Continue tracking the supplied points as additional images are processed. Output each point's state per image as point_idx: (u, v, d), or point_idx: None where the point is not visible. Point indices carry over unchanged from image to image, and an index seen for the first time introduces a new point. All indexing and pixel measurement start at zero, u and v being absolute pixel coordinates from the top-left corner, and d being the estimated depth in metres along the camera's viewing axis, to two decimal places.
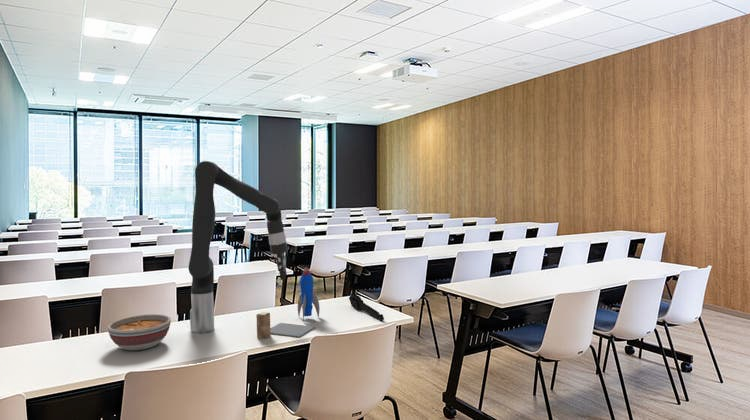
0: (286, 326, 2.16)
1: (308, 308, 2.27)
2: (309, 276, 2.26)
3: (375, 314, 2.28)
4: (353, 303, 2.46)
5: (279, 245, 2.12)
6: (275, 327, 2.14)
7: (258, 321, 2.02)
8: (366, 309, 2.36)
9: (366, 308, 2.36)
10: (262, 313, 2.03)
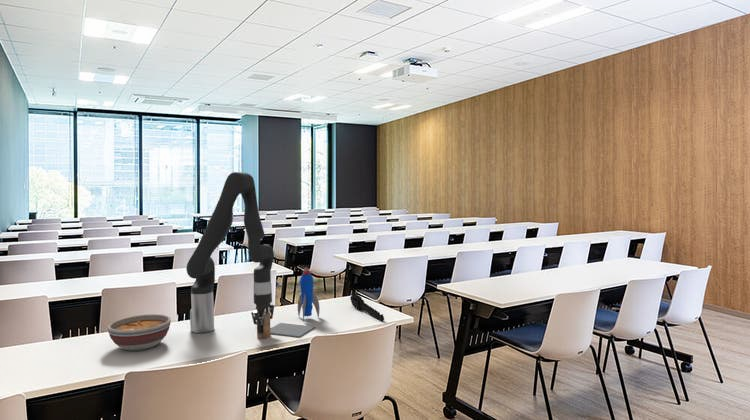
0: (286, 326, 2.16)
1: (308, 308, 2.27)
2: (309, 276, 2.26)
3: (375, 314, 2.28)
4: (354, 303, 2.46)
5: (259, 296, 1.99)
6: (275, 327, 2.14)
7: None
8: (366, 309, 2.36)
9: (366, 308, 2.36)
10: None
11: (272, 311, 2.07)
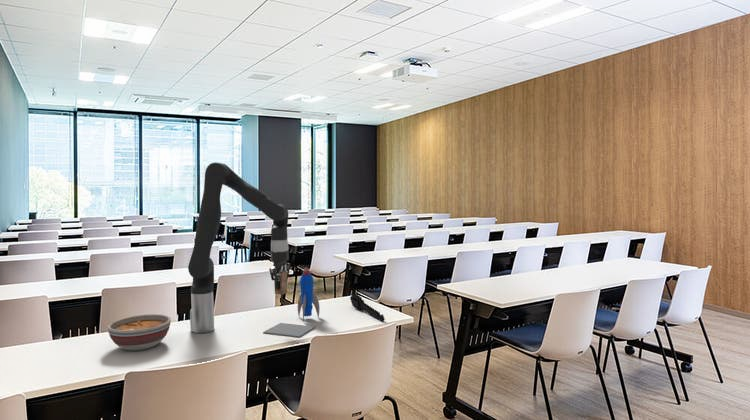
0: (286, 326, 2.16)
1: (308, 308, 2.27)
2: (309, 276, 2.26)
3: (376, 314, 2.27)
4: (354, 303, 2.45)
5: (276, 253, 2.07)
6: (275, 327, 2.14)
7: None
8: (366, 310, 2.36)
9: (366, 308, 2.36)
10: None
11: (288, 269, 2.16)
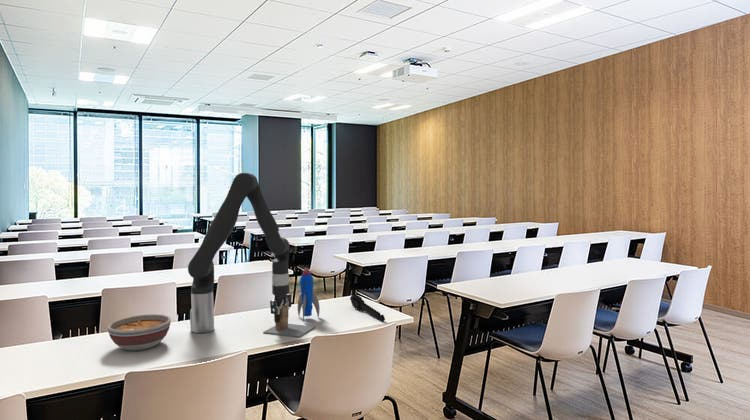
0: None
1: (308, 308, 2.27)
2: (309, 276, 2.26)
3: (376, 314, 2.27)
4: (354, 303, 2.45)
5: (277, 287, 2.08)
6: None
7: None
8: (367, 310, 2.35)
9: (367, 308, 2.35)
10: None
11: (290, 300, 2.17)
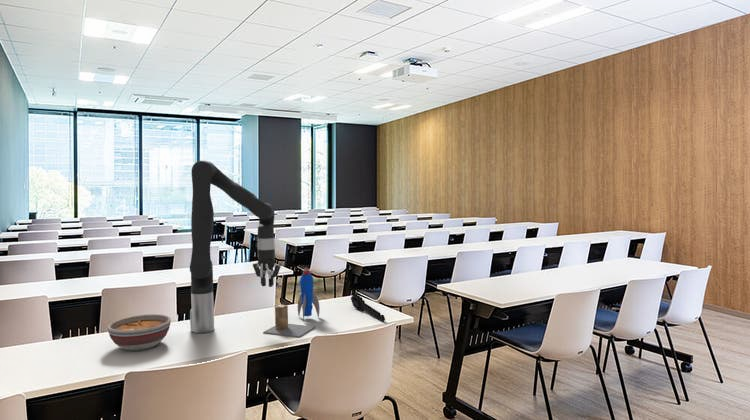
0: None
1: (308, 308, 2.27)
2: (309, 276, 2.26)
3: (376, 314, 2.27)
4: (355, 303, 2.45)
5: None
6: None
7: (276, 313, 2.11)
8: (367, 310, 2.35)
9: (367, 309, 2.35)
10: (280, 305, 2.12)
11: (274, 271, 2.11)
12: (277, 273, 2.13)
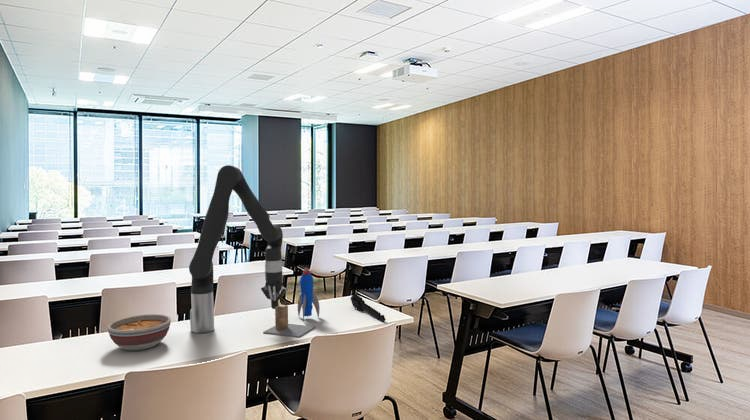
0: None
1: (308, 308, 2.27)
2: (309, 276, 2.26)
3: (376, 315, 2.27)
4: (354, 303, 2.45)
5: None
6: (275, 327, 2.14)
7: (277, 313, 2.11)
8: (367, 310, 2.35)
9: (367, 309, 2.35)
10: (280, 305, 2.12)
11: (280, 294, 2.11)
12: (282, 296, 2.13)
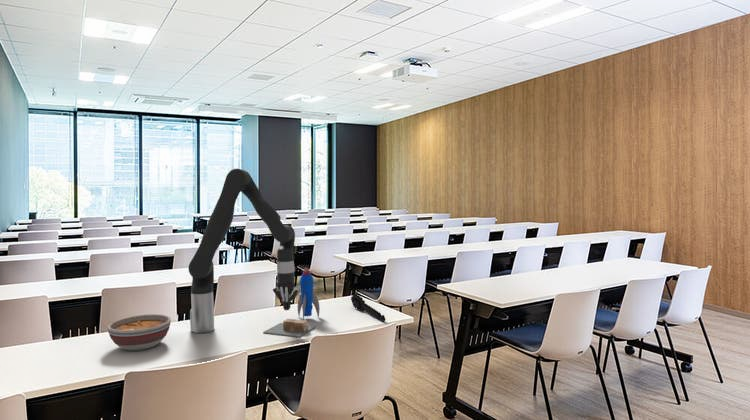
0: None
1: (308, 308, 2.27)
2: (309, 276, 2.26)
3: (377, 315, 2.27)
4: (355, 303, 2.44)
5: None
6: (275, 327, 2.14)
7: (297, 324, 2.08)
8: (367, 310, 2.35)
9: (367, 309, 2.35)
10: (305, 326, 2.08)
11: (293, 295, 2.09)
12: (294, 297, 2.11)
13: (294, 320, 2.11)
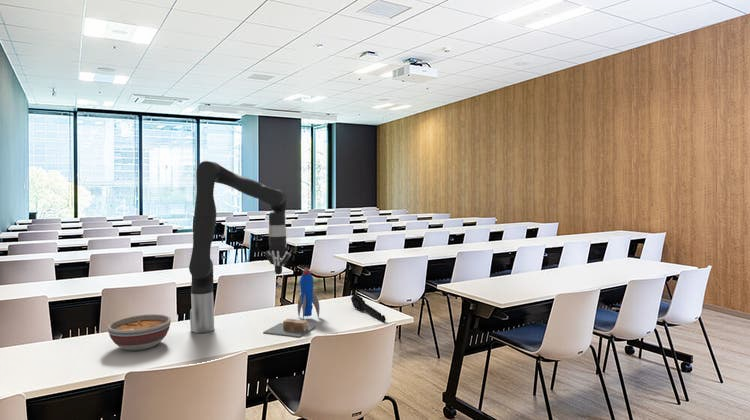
0: None
1: (308, 308, 2.27)
2: (309, 276, 2.26)
3: (377, 315, 2.26)
4: (355, 304, 2.44)
5: None
6: (275, 327, 2.14)
7: (297, 324, 2.08)
8: (367, 310, 2.35)
9: (367, 309, 2.35)
10: (305, 326, 2.08)
11: (284, 258, 2.09)
12: (286, 261, 2.11)
13: (294, 320, 2.11)
